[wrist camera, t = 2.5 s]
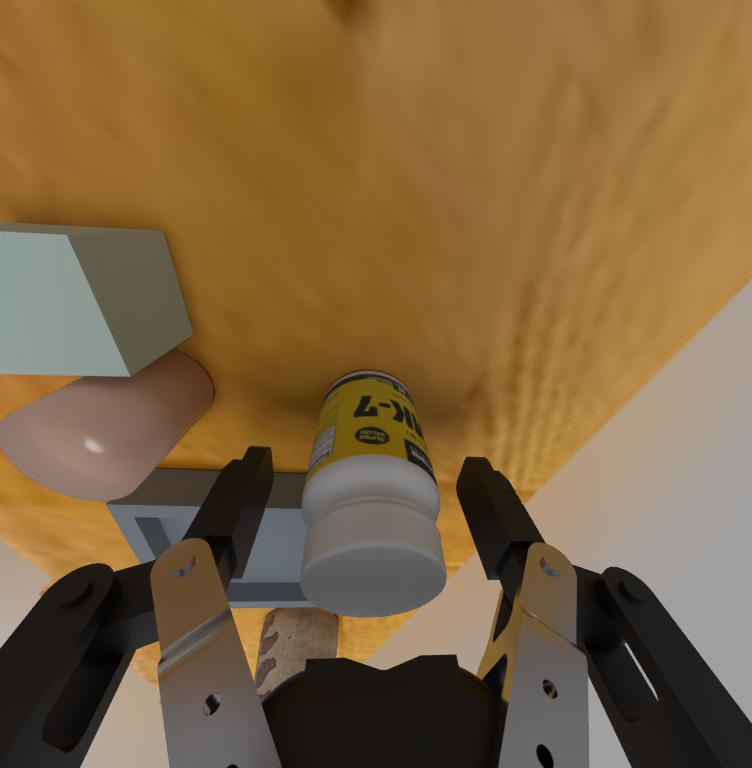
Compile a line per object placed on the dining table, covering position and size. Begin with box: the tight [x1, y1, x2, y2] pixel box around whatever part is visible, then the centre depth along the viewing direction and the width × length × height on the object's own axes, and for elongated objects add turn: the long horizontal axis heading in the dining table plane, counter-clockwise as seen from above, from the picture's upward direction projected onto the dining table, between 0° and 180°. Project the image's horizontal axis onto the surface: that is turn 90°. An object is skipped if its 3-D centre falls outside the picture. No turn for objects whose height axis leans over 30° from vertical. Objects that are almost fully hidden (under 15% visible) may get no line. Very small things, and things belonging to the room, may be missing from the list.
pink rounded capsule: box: [0, 349, 214, 501], centre depth 11 cm, size 4×4×5 cm
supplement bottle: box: [300, 371, 447, 617], centre depth 11 cm, size 5×5×8 cm
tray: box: [106, 468, 317, 608], centre depth 18 cm, size 12×12×2 cm
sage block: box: [0, 223, 193, 377], centre depth 9 cm, size 4×5×4 cm
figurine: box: [254, 607, 338, 703], centre depth 22 cm, size 7×7×12 cm
